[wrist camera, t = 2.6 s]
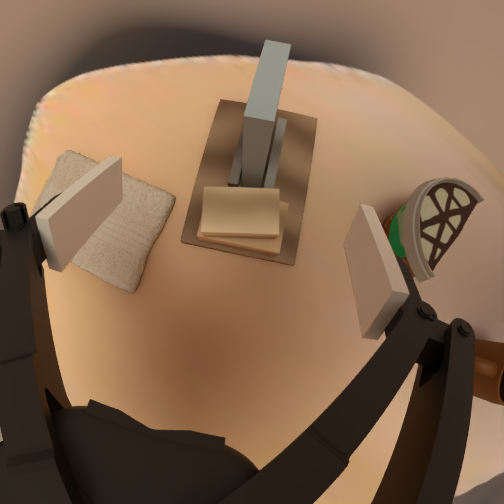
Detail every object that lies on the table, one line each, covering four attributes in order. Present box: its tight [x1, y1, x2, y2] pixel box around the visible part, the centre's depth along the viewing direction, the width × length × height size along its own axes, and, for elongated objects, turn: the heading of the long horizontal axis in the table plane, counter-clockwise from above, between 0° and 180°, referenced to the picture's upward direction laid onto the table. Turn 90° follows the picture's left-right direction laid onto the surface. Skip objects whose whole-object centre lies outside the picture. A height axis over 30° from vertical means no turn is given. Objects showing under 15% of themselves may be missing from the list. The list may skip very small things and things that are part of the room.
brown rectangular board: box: [181, 99, 317, 266], centre depth 32 cm, size 18×12×3 cm, turn 168°
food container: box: [382, 177, 484, 282], centre depth 28 cm, size 12×6×10 cm, turn 132°
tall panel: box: [242, 40, 291, 188], centre depth 25 cm, size 8×2×14 cm, turn 168°
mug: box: [473, 340, 504, 406], centre depth 27 cm, size 12×8×9 cm, turn 67°
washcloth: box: [29, 150, 175, 293], centre depth 31 cm, size 12×18×3 cm, turn 67°
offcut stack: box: [197, 187, 289, 256], centre depth 29 cm, size 5×8×5 cm
